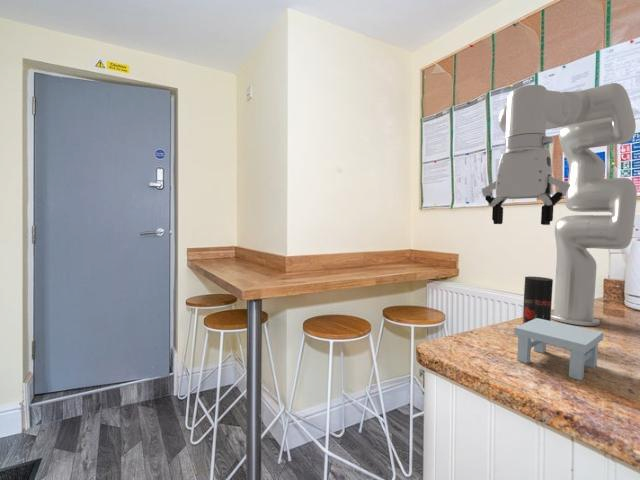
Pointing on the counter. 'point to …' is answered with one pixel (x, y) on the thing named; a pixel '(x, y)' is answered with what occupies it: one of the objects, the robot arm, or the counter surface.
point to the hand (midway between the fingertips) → (520, 224)
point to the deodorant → (537, 298)
